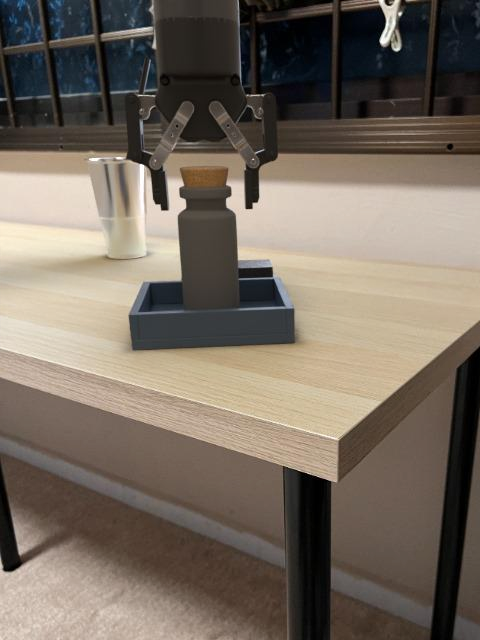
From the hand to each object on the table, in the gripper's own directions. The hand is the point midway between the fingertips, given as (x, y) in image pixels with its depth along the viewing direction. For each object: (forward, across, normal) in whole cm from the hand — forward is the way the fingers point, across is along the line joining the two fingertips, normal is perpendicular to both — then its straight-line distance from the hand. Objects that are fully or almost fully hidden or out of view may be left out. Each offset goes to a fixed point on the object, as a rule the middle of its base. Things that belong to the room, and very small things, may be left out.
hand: (207, 209), depth 60 cm
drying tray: (+12, 0, 0) cm, 12 cm away
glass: (+12, -14, +43) cm, 47 cm away
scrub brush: (+12, +2, +15) cm, 19 cm away
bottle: (+11, 0, 0) cm, 11 cm away
